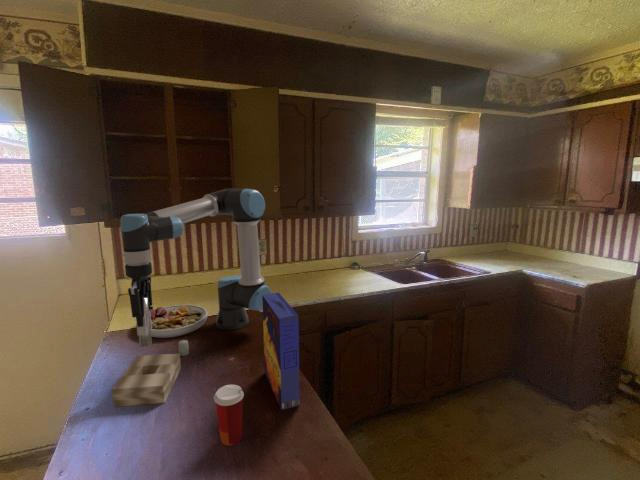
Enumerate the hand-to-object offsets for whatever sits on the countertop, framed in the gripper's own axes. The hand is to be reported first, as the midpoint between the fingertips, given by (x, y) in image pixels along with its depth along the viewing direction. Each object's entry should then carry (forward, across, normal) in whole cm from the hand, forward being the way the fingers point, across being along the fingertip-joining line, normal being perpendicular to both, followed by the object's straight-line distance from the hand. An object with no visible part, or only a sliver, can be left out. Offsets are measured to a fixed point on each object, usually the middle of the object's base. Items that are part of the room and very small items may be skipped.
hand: (144, 331), depth 115 cm
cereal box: (+20, +7, +44) cm, 49 cm away
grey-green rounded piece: (+20, -21, +6) cm, 29 cm away
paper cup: (+20, +28, +30) cm, 46 cm away
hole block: (+20, 0, 0) cm, 20 cm away
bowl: (+20, -49, -5) cm, 53 cm away
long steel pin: (+4, 0, 0) cm, 4 cm away
